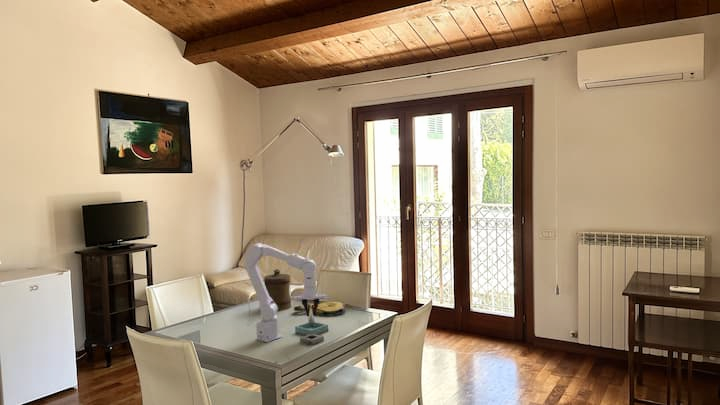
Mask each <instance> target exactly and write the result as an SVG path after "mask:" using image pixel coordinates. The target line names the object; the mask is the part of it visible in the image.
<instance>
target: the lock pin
mask: <svg viewBox="0 0 720 405" xmlns="http://www.w3.org/2000/svg"><path fill="white" fill-rule="evenodd" d="M307 317H308V322H309V323H313V322H315V316H314V303H309V304H308V316H307Z"/></svg>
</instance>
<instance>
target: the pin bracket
mask: <svg viewBox="0 0 720 405" xmlns="http://www.w3.org/2000/svg"><path fill="white" fill-rule="evenodd" d="M324 341H325V336H324V335H321V334H319V335H316V334H309V335H303V336H301V337H299V343H302V344H304V345H305V344H306V345H308V346H309V345H310V346H314V345H317V344H319V343H321V342H324Z"/></svg>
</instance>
